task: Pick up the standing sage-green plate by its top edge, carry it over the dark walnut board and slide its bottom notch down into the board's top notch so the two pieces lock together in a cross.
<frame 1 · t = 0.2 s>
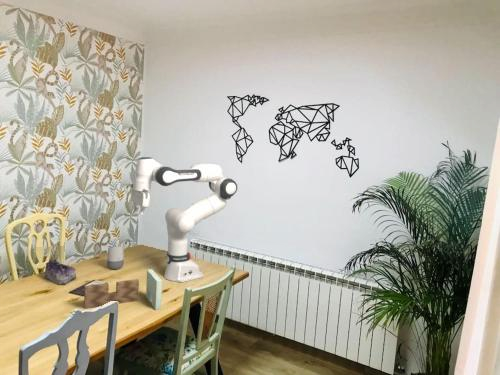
hand: (138, 212, 200), 39 cm above the table, fingers open, 8 cm apart
sage plate: (153, 302, 183), on the table
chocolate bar: (89, 289, 194), on the table
walnut board: (112, 303, 179), on the table
geode: (58, 279, 202), on the table
smart speaker: (115, 268, 224), on the table
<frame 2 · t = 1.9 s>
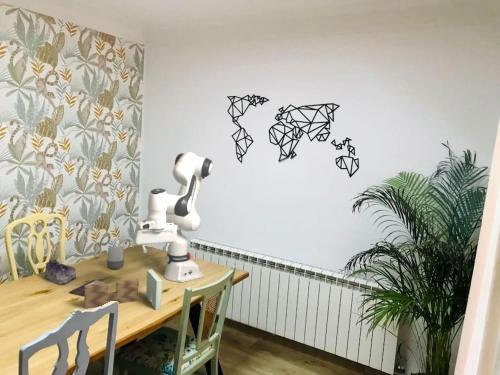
hand: (155, 251, 180), 26 cm above the table, fingers open, 8 cm apart
nothing on the table moved.
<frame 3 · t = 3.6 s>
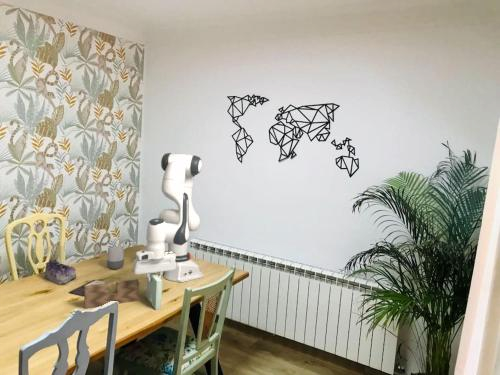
hand: (154, 280, 182), 11 cm above the table, fingers closed on sage plate, 3 cm apart
sage plate: (153, 302, 183), on the table, touching gripper
everything else where it was.
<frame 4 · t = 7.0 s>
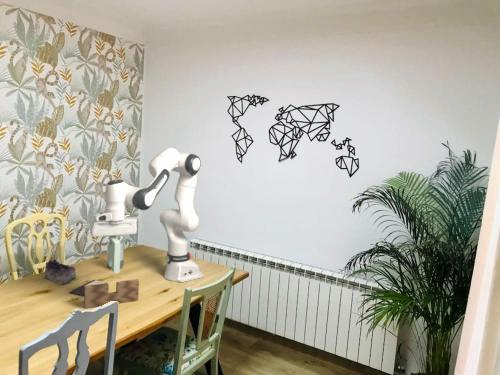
hand: (113, 244, 175), 29 cm above the table, fingers closed on sage plate, 2 cm apart
sage plate: (113, 267, 176), point 18 cm above the table, touching gripper
everything else where it was.
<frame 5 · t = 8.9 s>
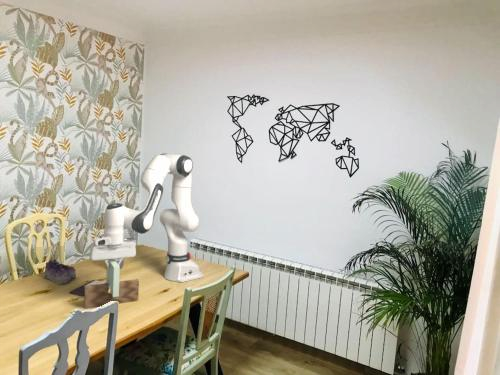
hand: (112, 267, 176), 18 cm above the table, fingers closed on sage plate, 2 cm apart
sage plate: (112, 290, 178), point 7 cm above the table, touching gripper
everything else where it was.
when the fingers open (12 cm above the table, at t = 10.4 s): sage plate stays where it is, resting on walnut board.
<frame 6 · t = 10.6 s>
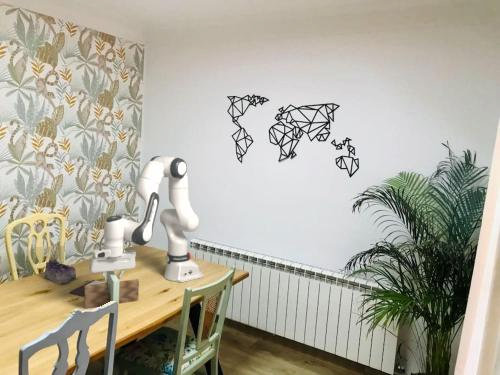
hand: (112, 279, 177), 12 cm above the table, fingers open, 4 cm apart
sage plate: (112, 303, 179), resting on walnut board
everything else where it was.
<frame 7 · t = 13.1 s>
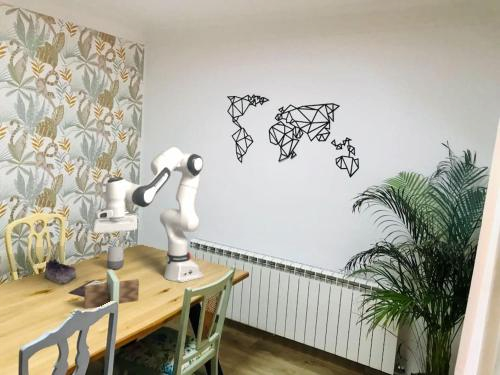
hand: (115, 240, 178), 30 cm above the table, fingers open, 8 cm apart
nothing on the table moved.
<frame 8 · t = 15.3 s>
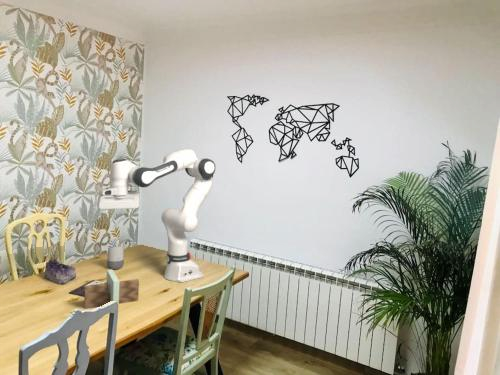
hand: (118, 217, 194), 37 cm above the table, fingers open, 8 cm apart
nothing on the table moved.
at the end: sage plate 0.1 cm off-centre on the walnut board, point 0.0 cm above the walnut board's base; sage plate tilted 0°; the gripper is holding nothing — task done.
